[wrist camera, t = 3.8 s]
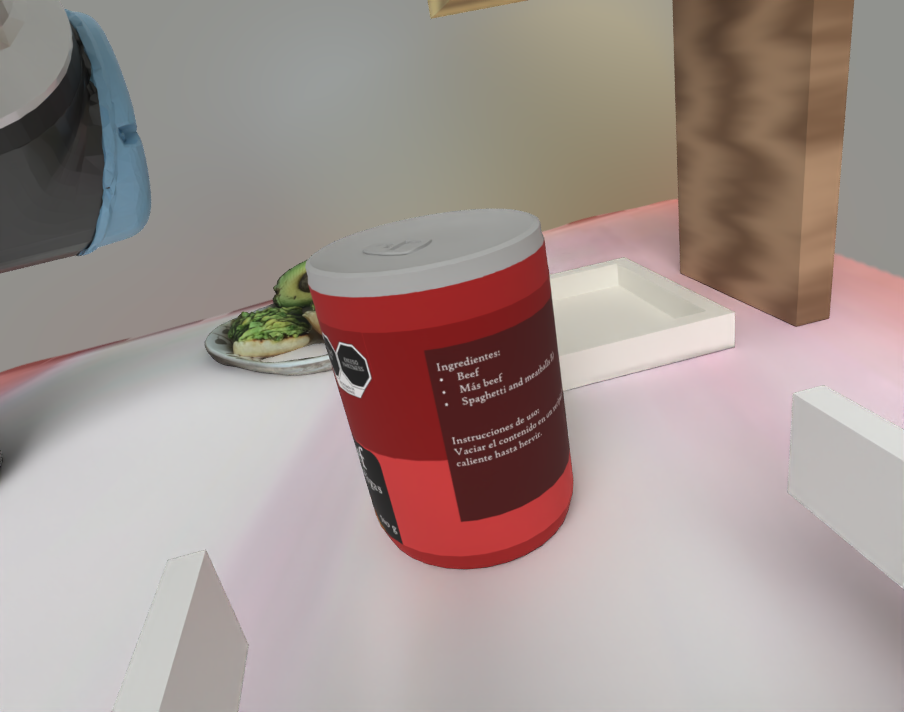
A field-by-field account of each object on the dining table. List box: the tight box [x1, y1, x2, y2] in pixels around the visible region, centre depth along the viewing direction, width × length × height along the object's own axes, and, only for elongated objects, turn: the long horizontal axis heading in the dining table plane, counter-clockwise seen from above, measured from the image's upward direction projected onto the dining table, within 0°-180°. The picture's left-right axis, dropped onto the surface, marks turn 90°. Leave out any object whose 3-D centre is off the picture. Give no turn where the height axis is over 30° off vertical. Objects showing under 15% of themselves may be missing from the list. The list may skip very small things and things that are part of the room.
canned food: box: [305, 209, 573, 569], centre depth 22 cm, size 8×8×11 cm
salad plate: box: [205, 260, 332, 375], centre depth 46 cm, size 19×18×5 cm
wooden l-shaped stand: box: [428, 0, 854, 326], centre depth 34 cm, size 12×17×20 cm
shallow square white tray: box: [549, 257, 735, 391], centre depth 37 cm, size 13×13×2 cm
